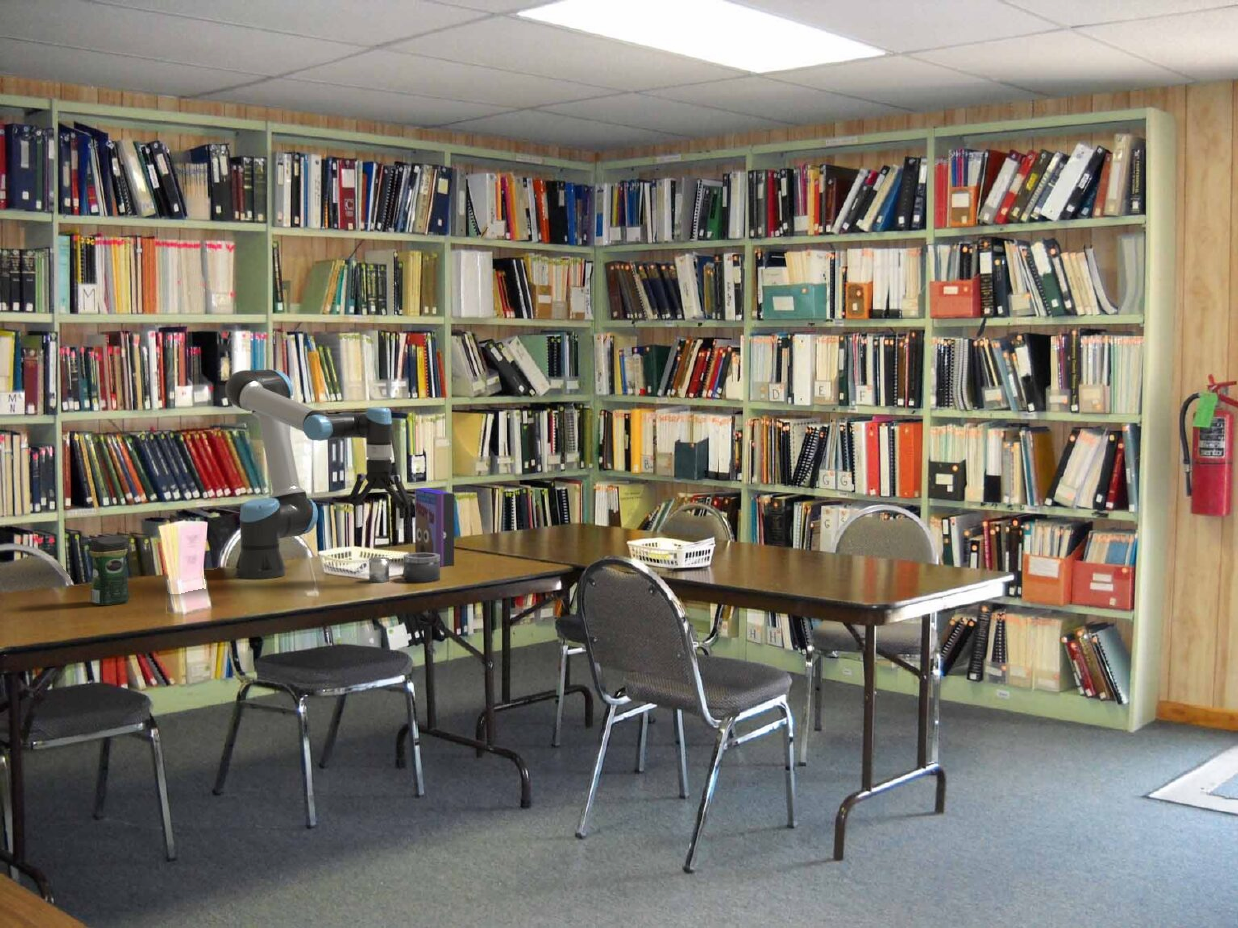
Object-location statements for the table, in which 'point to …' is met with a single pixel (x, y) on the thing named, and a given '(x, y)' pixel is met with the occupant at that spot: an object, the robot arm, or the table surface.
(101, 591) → the coffee jar
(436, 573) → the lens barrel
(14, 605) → the table surface
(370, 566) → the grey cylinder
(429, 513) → the cereal box
